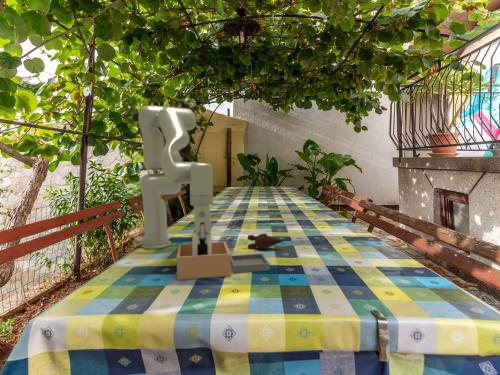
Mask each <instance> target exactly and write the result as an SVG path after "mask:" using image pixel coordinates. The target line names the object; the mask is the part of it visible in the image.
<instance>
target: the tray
mask: <svg viewBox="0 0 500 375" xmlns="http://www.w3.org/2000/svg"><path fill="white" fill-rule="evenodd" d="M270 270H271V266H270V262H269V261H268V259H267V258H266V257H265V256H264V254H263V253H250V254H235V255H233V254H232V255H231V271H232V272H233V274H238V273H252V272H254V273H255V272H266V271H270Z"/></svg>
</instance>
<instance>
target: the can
mask: <svg viewBox="0 0 500 375" xmlns="http://www.w3.org/2000/svg"><path fill="white" fill-rule="evenodd" d="M199 235H201V233H199ZM204 235H205V233H204ZM212 236H213V235H212V234H211V235H209V234H207V250H208V255H212V242H213V241H212V240H213V239H212V238H213V237H212ZM200 238H201V237H200ZM197 255H198V236H197V235H196V230H195V229H194V230H193V234H192V256H197Z"/></svg>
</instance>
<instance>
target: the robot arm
mask: <svg viewBox="0 0 500 375" xmlns="http://www.w3.org/2000/svg"><path fill="white" fill-rule="evenodd" d="M196 118H197V117H196V115H195V113H194V111H193V110H191V108H187V107H186V108H185V107H175V106H164V105H163V106H162V105H161V106H160V105H150V104H149V105H144V106H142V107H141V108H140V109H139V111H138V120H137V121H138V126H139V129H140V132H141V136H142V154H143V155H142V157H143V158H142V159H143V160H142V161H143V166H144V168H145V169H146V170H148V171H149V170H150V171H163V173H162V172H161V173H158V172H157V173H155V172H153V173H148V174H144V175H143V176H142V177H141V178H140V181H139V183H140V184H139V185H140V191H141V196H142V203H143V221H144V222H143V226H144V229H143V230H144V235H143V236H142V237H139V236H137V237H134V239H133V240H134V241H133V242H134V243H140V246H141V248H143V249H147V250H157V249H163V248H167V247H170V246H171V245H172V241H171V240H168V223H167V222H168V218H167V216H168V212H167V204H166V202H165V200H164V199H163V198H162V196H165V195H176V194H178V193H179V192H180V191H181V189H182V185H185V184H189V202H190V203H189V205H190V206H193V215H194V216H193V217H194V227H195V228H194V231H195V230H196V235H197V236H198V255H208V250H207V234H209V235H212V231H211V230H212V227H211V226H212V223H211V222H212V221H211V217H212V216H211V215H212V214H211V206H212V205H214V188H213V187H214V184H213V182H214V181H213V180H214V179H213V176H214V174H213V173H214V172H213V170H214V169H213V166H212V164H211V163H208V162H200V161H192V162H191V161H182V157H181V154H180V152H179V151H180V150H181V149H182V150H183V149H184V148H185V147H187V146H188V144H189V142H190V135H189V133H188V131H192V130H193V129H195V127H196V123H197V119H196ZM159 128H161V131H160V129H159ZM164 140H165V142H166V143H164ZM164 144H165V145H164ZM199 233H201V235H199ZM204 233H205V235H204ZM200 237H201V238H200Z"/></svg>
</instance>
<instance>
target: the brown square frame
mask: <svg viewBox="0 0 500 375" xmlns="http://www.w3.org/2000/svg"><path fill="white" fill-rule="evenodd" d="M231 256H232V255H231V252H230V250H229V247H228V245H227V242H226V241H212V255H197V256H192V243H179V244H178V248H177V254H176V280H178V281H179V280H191V279H192V280H193V279H205V278H219V277H220V278H221V277H231V276H232V267H231Z"/></svg>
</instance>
